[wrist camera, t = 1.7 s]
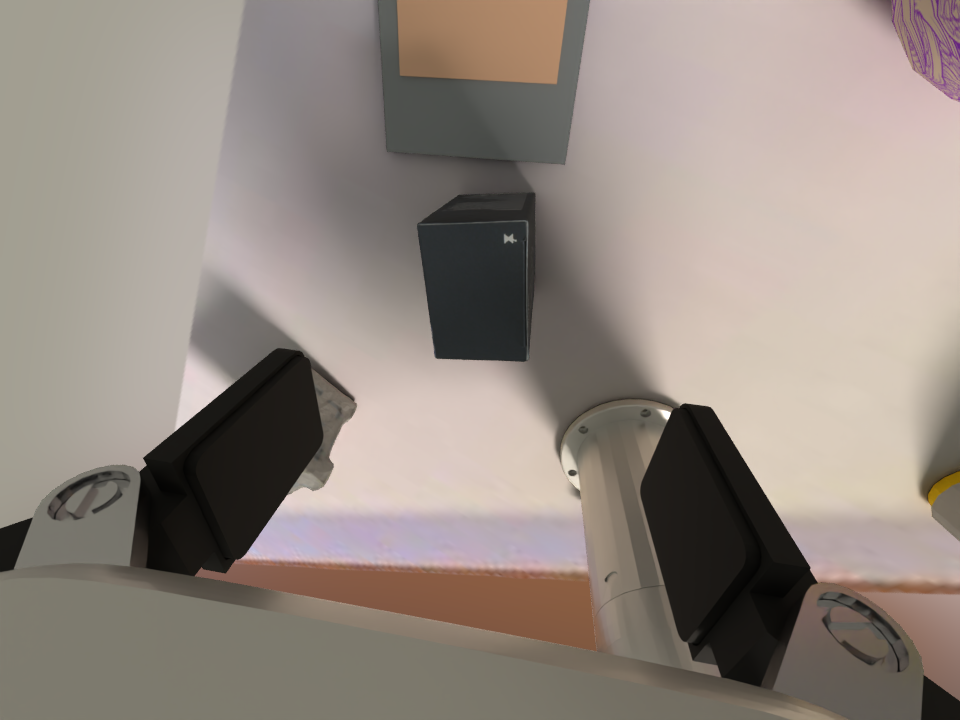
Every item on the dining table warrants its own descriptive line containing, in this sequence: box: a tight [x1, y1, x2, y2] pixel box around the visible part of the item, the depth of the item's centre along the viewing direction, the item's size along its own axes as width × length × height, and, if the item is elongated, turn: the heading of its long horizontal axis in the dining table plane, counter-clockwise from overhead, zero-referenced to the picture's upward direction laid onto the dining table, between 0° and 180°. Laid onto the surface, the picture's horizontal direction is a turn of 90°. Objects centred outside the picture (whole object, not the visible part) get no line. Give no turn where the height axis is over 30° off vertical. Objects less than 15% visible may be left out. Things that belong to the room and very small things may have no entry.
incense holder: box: [287, 368, 357, 495], centre depth 35 cm, size 10×8×10 cm
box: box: [417, 192, 535, 362], centre depth 24 cm, size 8×6×11 cm
